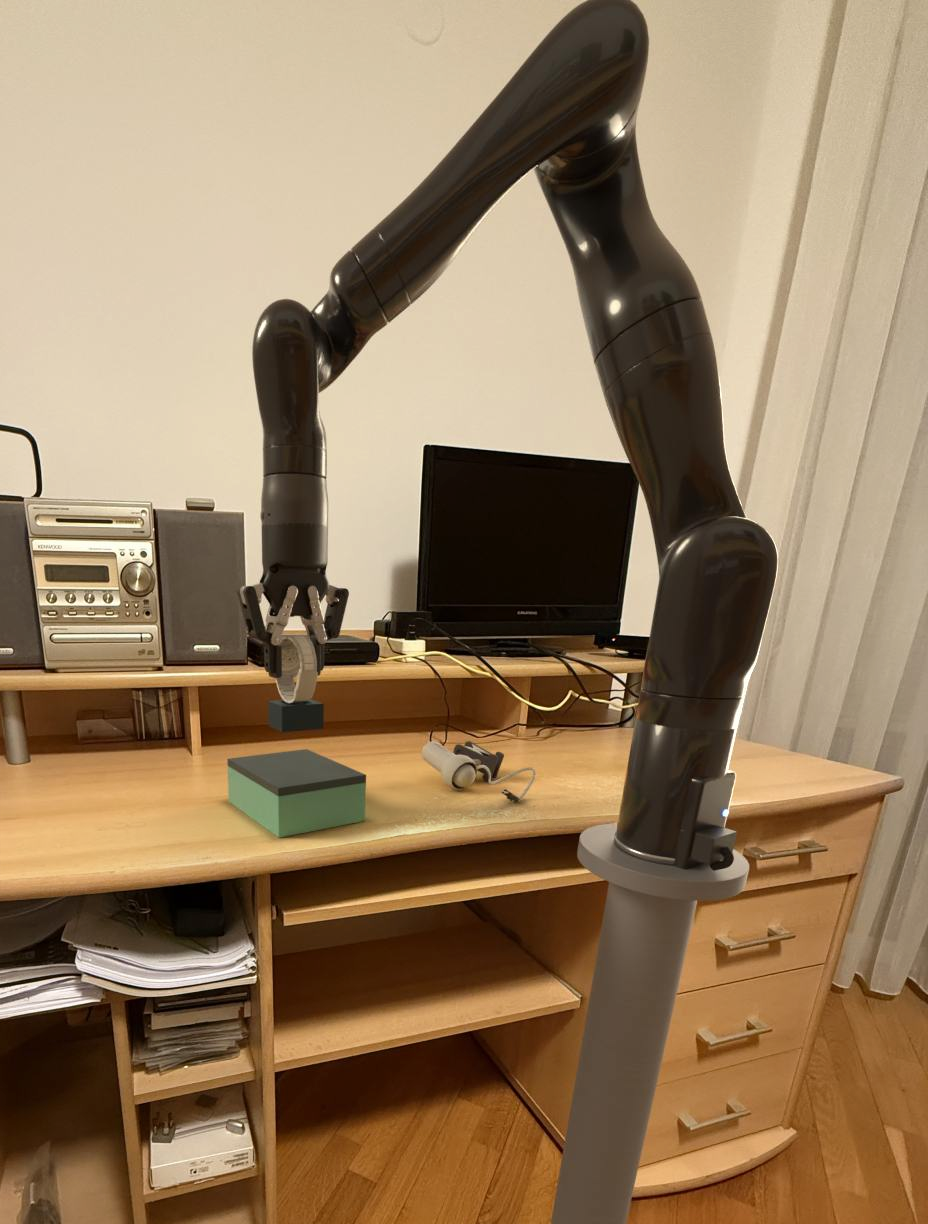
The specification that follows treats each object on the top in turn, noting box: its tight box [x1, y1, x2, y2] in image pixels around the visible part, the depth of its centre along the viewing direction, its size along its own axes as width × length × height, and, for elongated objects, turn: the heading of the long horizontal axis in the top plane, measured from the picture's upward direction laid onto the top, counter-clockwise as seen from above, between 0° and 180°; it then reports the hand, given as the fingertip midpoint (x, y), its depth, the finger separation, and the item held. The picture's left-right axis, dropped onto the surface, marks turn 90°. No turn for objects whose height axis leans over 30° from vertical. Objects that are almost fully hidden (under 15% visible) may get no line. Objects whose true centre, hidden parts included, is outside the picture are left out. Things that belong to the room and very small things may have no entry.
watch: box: [267, 635, 325, 733], centre depth 77 cm, size 6×8×11 cm
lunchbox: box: [226, 748, 367, 839], centre depth 81 cm, size 15×12×6 cm
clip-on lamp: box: [421, 740, 536, 803], centre depth 92 cm, size 12×6×18 cm
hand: (294, 675), depth 77 cm, fingers closed on watch, 4 cm apart
